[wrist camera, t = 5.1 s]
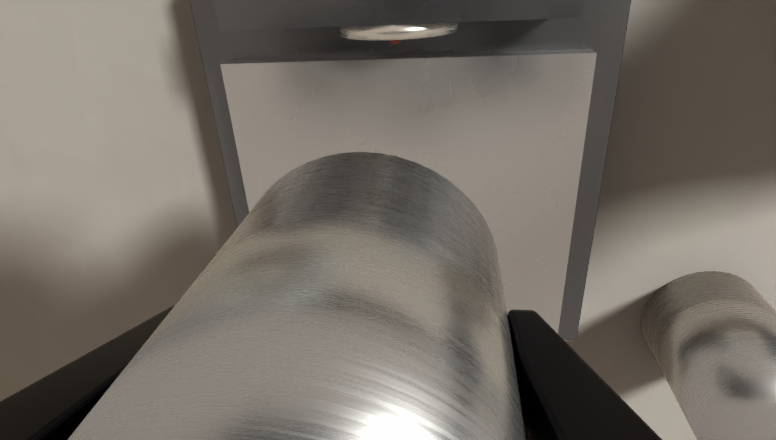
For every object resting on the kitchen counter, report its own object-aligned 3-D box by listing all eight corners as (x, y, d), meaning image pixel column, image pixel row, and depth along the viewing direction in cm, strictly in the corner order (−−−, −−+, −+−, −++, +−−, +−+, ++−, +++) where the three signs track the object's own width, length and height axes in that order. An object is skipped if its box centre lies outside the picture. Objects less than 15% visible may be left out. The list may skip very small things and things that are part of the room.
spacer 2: (776, 272, 21) (883, 375, 16) (743, 361, 24) (828, 477, 18) (652, 270, 22) (716, 368, 17) (632, 356, 24) (683, 467, 19)
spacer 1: (492, 374, 11) (534, 790, 5) (265, 364, 11) (98, 729, 6) (507, 150, 8) (609, 486, 3) (220, 152, 9) (-119, 435, 4)
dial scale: (617, -66, 16) (679, -76, 12) (564, 305, 23) (591, 386, 19) (212, -43, 18) (134, -44, 14) (274, 296, 25) (237, 368, 20)
